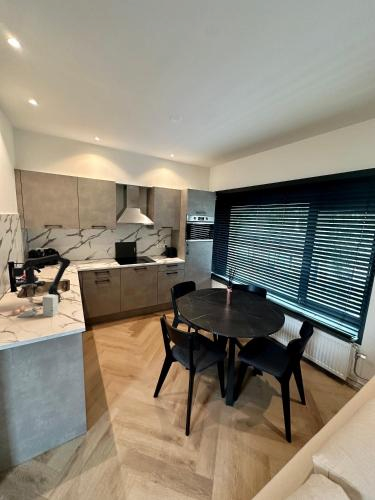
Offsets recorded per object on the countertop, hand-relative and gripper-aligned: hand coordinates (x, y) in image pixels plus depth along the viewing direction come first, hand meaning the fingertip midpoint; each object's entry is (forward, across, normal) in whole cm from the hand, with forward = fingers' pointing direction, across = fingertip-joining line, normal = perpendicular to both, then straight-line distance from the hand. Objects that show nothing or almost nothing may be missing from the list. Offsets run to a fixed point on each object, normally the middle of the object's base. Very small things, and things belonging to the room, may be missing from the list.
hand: (31, 294), depth 164 cm
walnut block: (+1, 0, 0) cm, 1 cm away
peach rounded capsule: (+11, +5, +7) cm, 14 cm away
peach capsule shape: (+11, +5, +12) cm, 17 cm away
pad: (+11, -3, +13) cm, 17 cm away
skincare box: (+11, -19, +16) cm, 27 cm away
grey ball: (+11, -4, +7) cm, 14 cm away
